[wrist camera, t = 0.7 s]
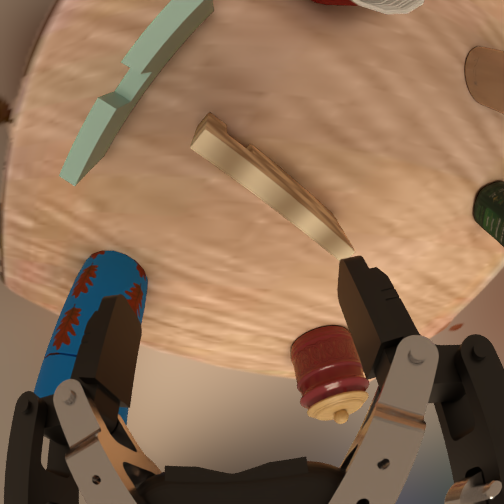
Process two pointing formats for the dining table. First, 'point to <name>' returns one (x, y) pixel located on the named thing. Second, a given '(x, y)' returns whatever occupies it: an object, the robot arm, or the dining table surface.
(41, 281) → the dining table surface
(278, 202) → the brass bar
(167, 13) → the sage green notched block
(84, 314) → the thermos
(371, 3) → the plastic cup
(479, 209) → the coffee jar
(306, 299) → the dining table surface
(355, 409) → the canister
